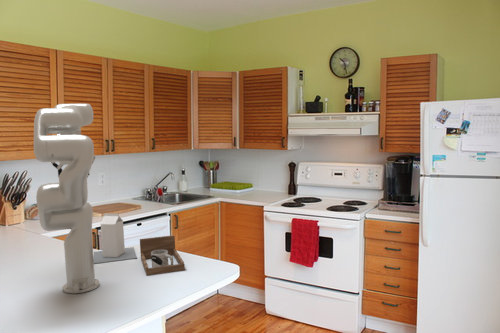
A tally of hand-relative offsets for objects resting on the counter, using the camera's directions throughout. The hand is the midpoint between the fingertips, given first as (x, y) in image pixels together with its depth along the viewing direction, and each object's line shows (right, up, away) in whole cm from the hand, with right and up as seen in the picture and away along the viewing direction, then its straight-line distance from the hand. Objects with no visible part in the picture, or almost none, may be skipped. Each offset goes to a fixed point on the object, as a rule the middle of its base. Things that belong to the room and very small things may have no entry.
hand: (74, 178), depth 178 cm
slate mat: (+11, -36, +19) cm, 42 cm away
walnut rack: (+35, -36, +4) cm, 50 cm away
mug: (+37, -37, -1) cm, 52 cm away
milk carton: (+11, -35, +18) cm, 41 cm away
